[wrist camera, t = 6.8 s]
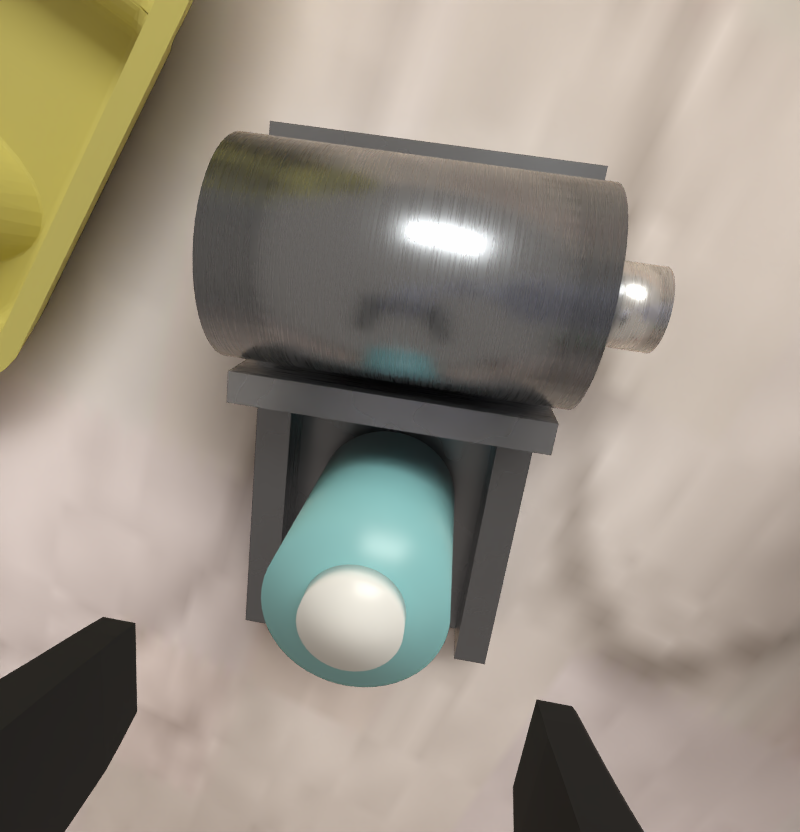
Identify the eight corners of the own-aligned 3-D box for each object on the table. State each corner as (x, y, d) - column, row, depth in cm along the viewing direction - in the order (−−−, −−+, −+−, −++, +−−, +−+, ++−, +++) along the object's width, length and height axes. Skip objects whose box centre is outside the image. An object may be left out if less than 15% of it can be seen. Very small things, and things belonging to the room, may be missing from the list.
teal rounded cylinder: (474, 459, 18) (480, 581, 12) (427, 570, 20) (410, 731, 13) (343, 411, 18) (280, 509, 12) (305, 527, 20) (231, 667, 13)
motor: (649, 175, 16) (753, 147, 10) (533, 633, 21) (558, 787, 15) (279, 125, 16) (180, 72, 11) (251, 582, 21) (174, 712, 16)
